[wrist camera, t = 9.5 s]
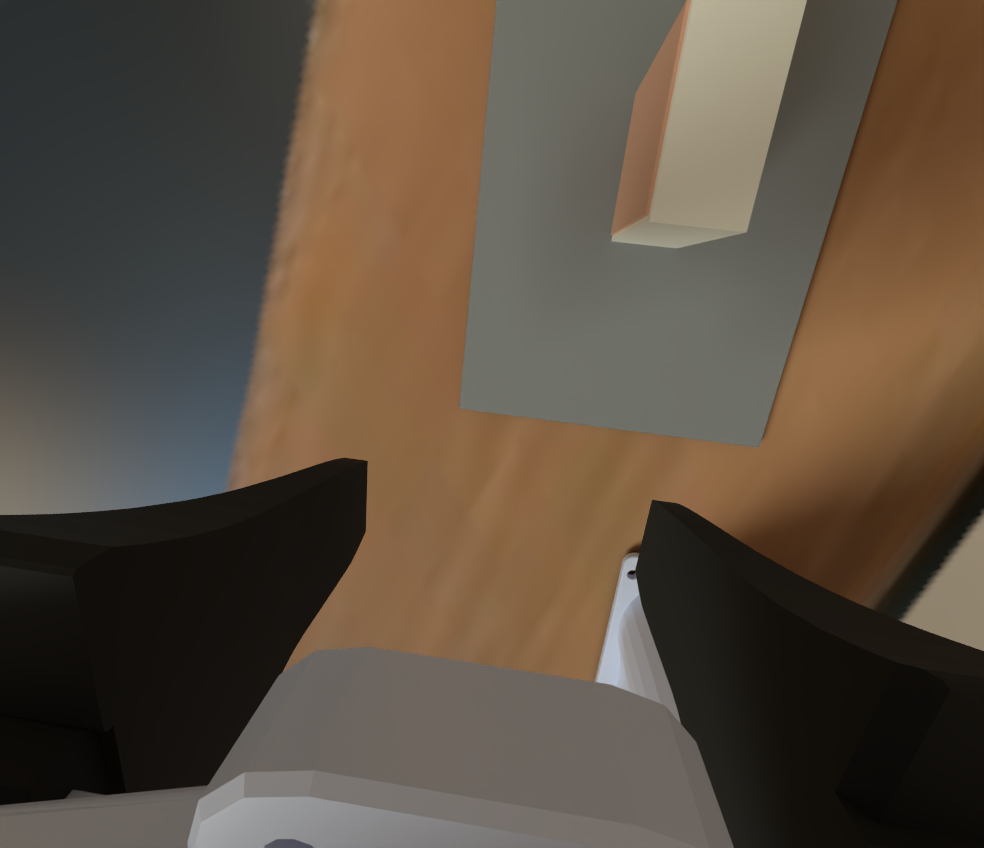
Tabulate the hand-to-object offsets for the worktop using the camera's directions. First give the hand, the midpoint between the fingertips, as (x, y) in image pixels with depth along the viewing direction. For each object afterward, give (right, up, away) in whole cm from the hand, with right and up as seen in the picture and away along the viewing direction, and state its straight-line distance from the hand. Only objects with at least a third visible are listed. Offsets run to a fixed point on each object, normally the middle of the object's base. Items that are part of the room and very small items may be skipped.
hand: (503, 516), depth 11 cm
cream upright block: (+6, +12, +5) cm, 14 cm away
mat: (+6, +11, +6) cm, 14 cm away
